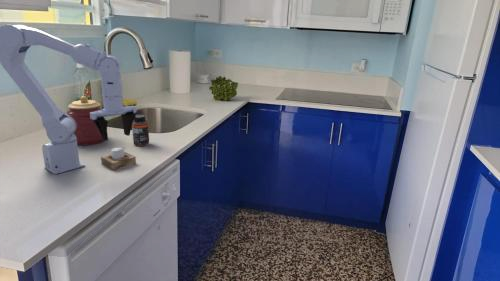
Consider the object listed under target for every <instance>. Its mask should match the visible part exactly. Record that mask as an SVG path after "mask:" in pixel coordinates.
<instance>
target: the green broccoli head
mask: <svg viewBox="0 0 500 281" xmlns="http://www.w3.org/2000/svg"><path fill="white" fill-rule="evenodd" d="M210 83H211V84H210V85H211V86H210V87H209V90H210V91H211V92H210V93H211V95H213V100H216V101H217V100H218V101H220V100H223V101H228V100H232V98H235V97H236V96H237V95H238V92H237V91H238V90H237V89H238V87H239V82H236V81H233V80H232V79H231V78H229V77H228V79H227V78H226V76H223V77H222V76H220V75H219V76H216V78H215V79H211V82H210Z"/></svg>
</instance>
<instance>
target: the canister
mask: <svg viewBox="0 0 500 281" xmlns="http://www.w3.org/2000/svg"><path fill="white" fill-rule="evenodd" d="M67 107H68V110H67V111H65V113H66V114H67V115H68V116H69V117H71V118H73V119H74V120H75V122H76V124H77V128H76V130H75V132H74V135H75V136H76V139H77V146H78V145H79V146H89V145H97V144H99V143H102V142H104V141H105V140H103V139H102V136H101V134H100V131H99V129H98V127H97V126H96V124H95V123H94V121H93V119H90V112H95V111H98V110H102V109H103V108H102V107H101V103H100V102H97V100H94V99H93V100H92V99H88V97H87V96H85V95H82V96H80V98H79V100H75V101H72V102H71V103H70V104H68V106H67Z"/></svg>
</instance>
